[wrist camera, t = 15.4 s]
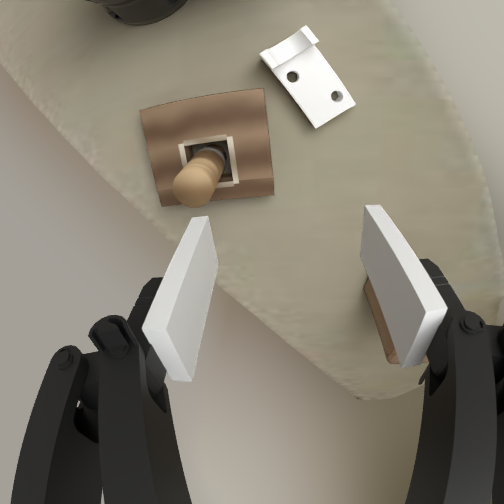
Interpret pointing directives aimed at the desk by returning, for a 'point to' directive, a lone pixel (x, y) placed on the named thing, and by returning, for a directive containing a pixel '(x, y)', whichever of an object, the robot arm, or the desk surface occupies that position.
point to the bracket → (308, 77)
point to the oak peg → (200, 176)
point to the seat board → (209, 130)
